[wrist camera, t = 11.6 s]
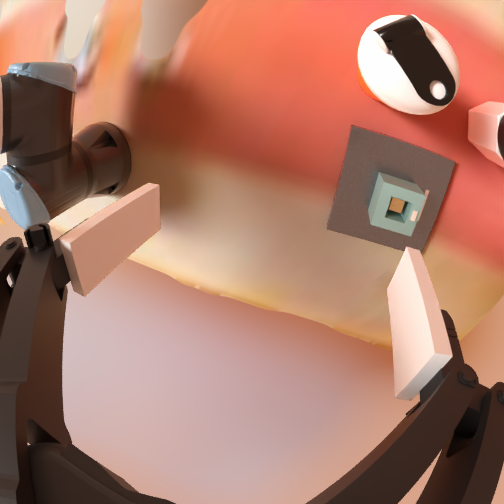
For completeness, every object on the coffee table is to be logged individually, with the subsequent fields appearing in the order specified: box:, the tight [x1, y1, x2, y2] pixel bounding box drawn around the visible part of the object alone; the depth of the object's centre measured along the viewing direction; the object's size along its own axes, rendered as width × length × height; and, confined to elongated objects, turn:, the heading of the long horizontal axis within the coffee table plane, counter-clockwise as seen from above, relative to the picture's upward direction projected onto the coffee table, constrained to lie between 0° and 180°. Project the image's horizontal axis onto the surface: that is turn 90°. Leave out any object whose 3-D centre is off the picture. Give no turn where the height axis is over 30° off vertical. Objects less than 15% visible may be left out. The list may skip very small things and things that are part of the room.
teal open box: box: [368, 172, 426, 237], centre depth 34 cm, size 6×6×5 cm
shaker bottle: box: [357, 15, 460, 115], centre depth 21 cm, size 9×9×20 cm
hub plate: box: [327, 125, 455, 253], centre depth 35 cm, size 16×16×6 cm
